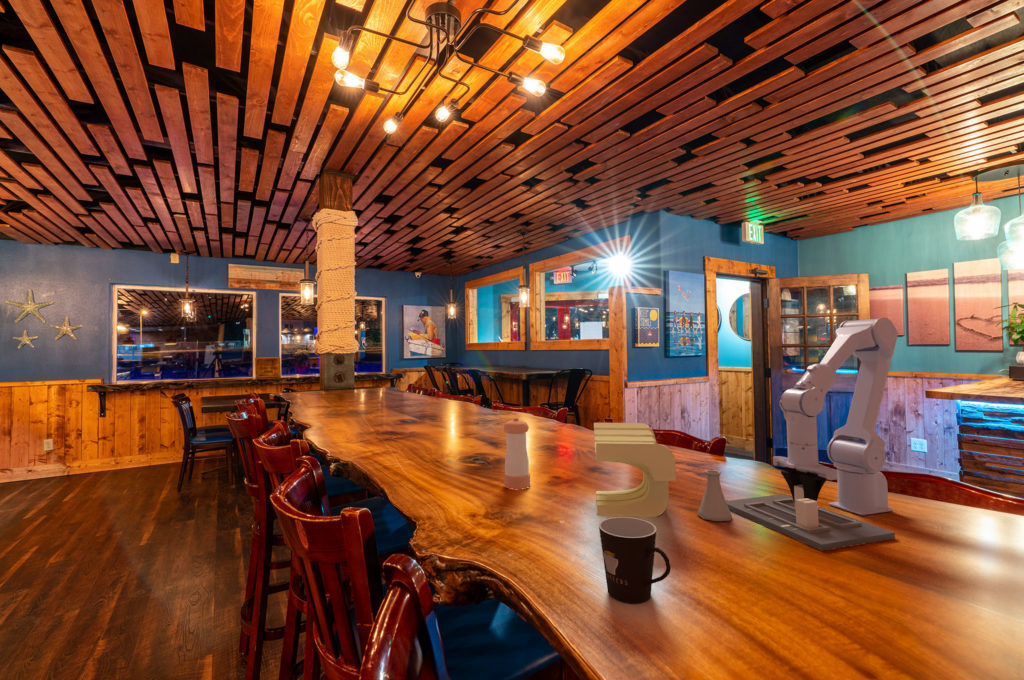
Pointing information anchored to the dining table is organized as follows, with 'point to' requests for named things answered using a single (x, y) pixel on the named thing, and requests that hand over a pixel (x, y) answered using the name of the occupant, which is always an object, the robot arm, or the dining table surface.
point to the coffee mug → (630, 558)
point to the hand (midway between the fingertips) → (804, 504)
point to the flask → (714, 500)
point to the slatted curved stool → (640, 451)
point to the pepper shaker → (516, 455)
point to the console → (828, 535)
